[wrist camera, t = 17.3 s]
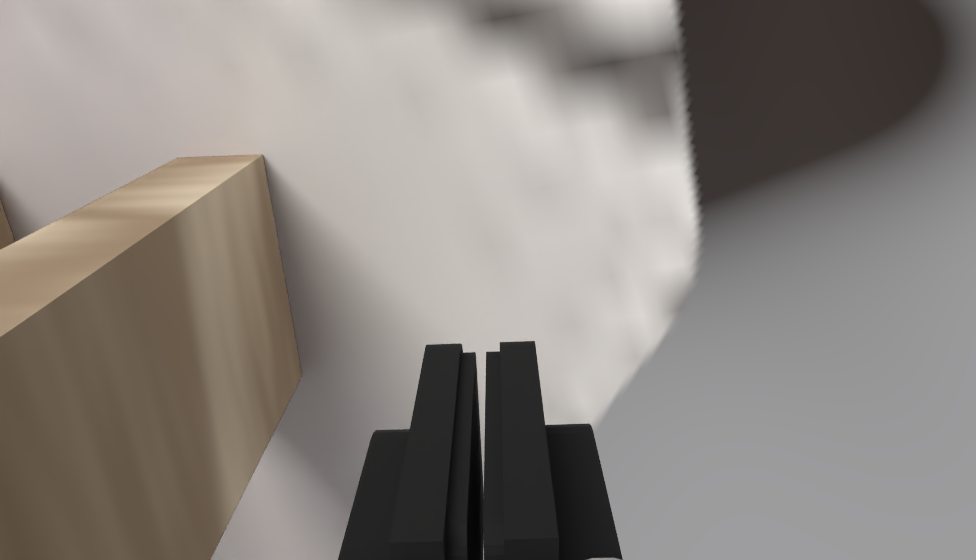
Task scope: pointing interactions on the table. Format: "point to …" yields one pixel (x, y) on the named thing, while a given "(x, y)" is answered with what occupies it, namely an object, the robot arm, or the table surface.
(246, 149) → the table surface
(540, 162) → the table surface
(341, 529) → the table surface
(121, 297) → the domino
